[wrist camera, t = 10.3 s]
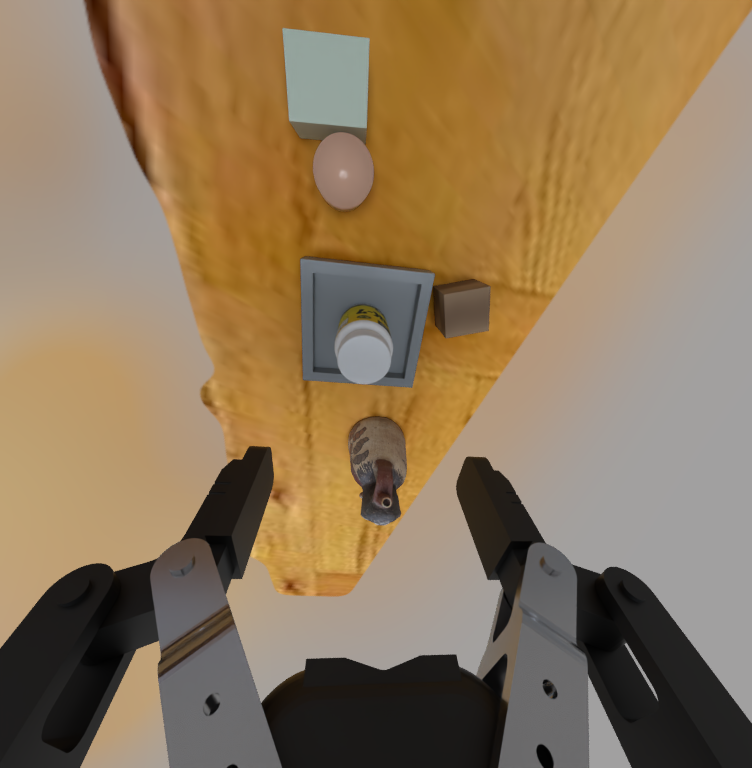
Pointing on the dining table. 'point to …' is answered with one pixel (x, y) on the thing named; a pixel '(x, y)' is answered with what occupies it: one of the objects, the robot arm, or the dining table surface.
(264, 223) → the dining table surface
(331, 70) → the sage block
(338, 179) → the pink rounded capsule
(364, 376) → the supplement bottle
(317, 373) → the tray
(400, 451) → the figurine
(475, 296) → the walnut block
